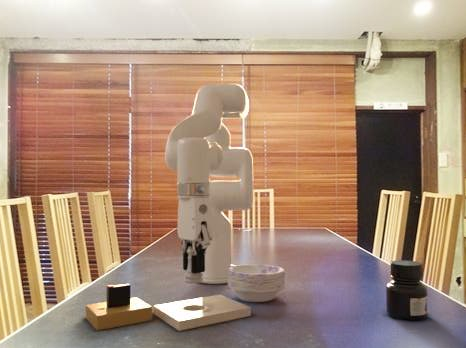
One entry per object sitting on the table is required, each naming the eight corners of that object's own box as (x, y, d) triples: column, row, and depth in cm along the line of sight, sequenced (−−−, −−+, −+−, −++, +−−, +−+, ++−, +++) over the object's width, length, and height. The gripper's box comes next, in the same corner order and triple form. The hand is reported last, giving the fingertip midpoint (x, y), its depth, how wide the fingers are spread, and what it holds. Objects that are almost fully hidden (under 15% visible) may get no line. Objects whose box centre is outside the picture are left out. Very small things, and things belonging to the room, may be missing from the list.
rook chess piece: (199, 284, 96) (199, 248, 96) (181, 283, 97) (180, 248, 97) (205, 279, 100) (205, 245, 101) (187, 279, 101) (187, 245, 101)
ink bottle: (423, 324, 92) (422, 268, 92) (381, 317, 97) (381, 264, 97) (430, 312, 100) (430, 261, 101) (392, 307, 105) (391, 258, 105)
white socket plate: (220, 302, 110) (220, 294, 110) (250, 315, 99) (250, 307, 99) (153, 314, 101) (153, 305, 101) (178, 331, 89) (178, 321, 89)
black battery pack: (128, 303, 99) (128, 282, 99) (130, 304, 98) (130, 283, 98) (106, 306, 96) (106, 285, 96) (108, 308, 95) (108, 286, 95)
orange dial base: (136, 309, 104) (136, 296, 104) (151, 320, 96) (151, 306, 96) (85, 318, 98) (85, 304, 98) (97, 330, 89) (97, 315, 90)
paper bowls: (290, 293, 119) (290, 264, 119) (276, 308, 105) (276, 275, 105) (239, 289, 124) (239, 261, 124) (219, 303, 110) (218, 272, 110)
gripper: (225, 191, 94) (226, 275, 94) (192, 191, 108) (192, 264, 108) (195, 192, 90) (195, 279, 90) (164, 191, 104) (164, 267, 104)
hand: (193, 270), depth 99 cm, fingers closed on rook chess piece, 3 cm apart
